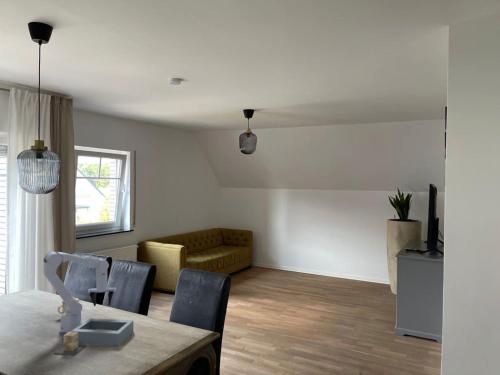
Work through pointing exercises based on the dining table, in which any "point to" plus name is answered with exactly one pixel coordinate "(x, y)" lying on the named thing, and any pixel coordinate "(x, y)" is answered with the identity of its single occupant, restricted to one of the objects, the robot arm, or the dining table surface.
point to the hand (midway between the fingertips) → (102, 305)
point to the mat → (70, 351)
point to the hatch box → (104, 331)
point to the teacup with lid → (64, 307)
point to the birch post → (70, 341)
